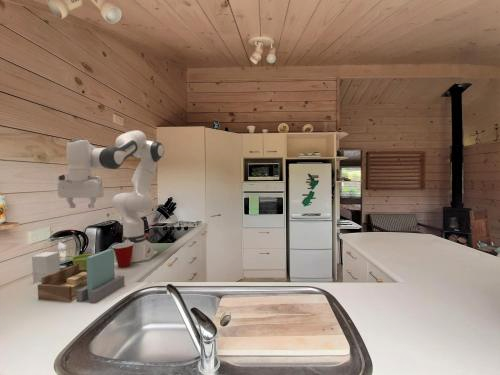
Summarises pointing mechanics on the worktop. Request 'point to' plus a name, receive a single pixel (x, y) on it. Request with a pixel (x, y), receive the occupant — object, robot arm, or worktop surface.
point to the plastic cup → (123, 253)
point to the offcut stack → (77, 282)
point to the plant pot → (81, 260)
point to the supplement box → (45, 265)
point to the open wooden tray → (58, 285)
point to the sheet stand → (99, 291)
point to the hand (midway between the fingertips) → (81, 208)
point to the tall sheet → (100, 269)
